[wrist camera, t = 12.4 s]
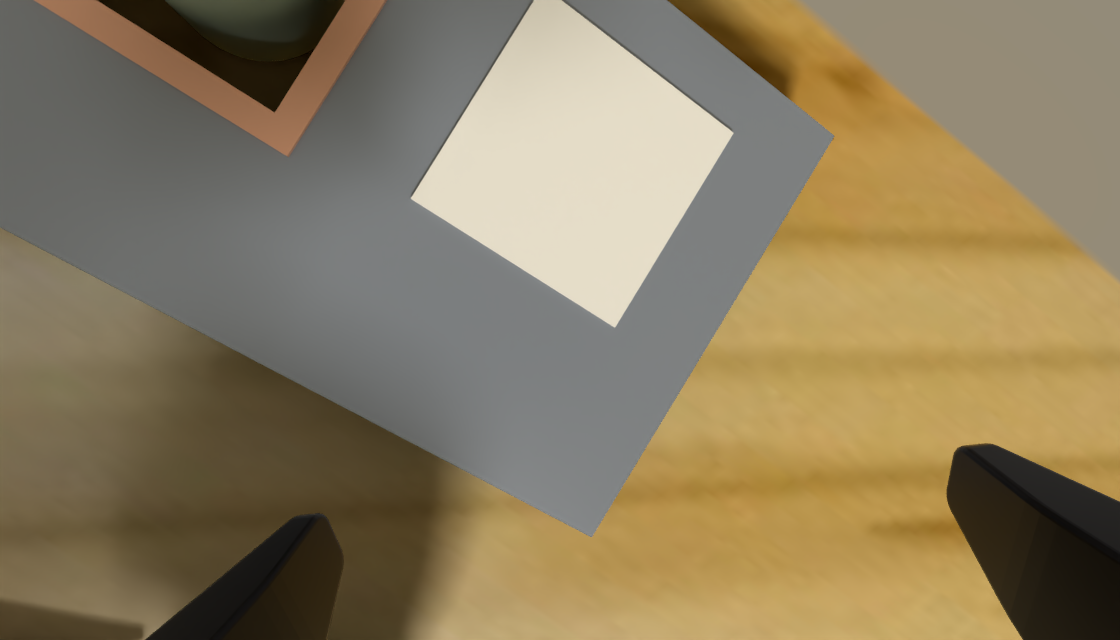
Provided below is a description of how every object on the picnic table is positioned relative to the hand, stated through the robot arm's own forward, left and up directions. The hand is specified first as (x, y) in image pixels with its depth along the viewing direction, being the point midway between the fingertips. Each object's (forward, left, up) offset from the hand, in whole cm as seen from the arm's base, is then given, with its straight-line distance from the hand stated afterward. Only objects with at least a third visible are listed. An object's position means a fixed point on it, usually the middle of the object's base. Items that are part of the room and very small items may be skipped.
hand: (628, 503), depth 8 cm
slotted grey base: (-2, +8, -12) cm, 15 cm away
